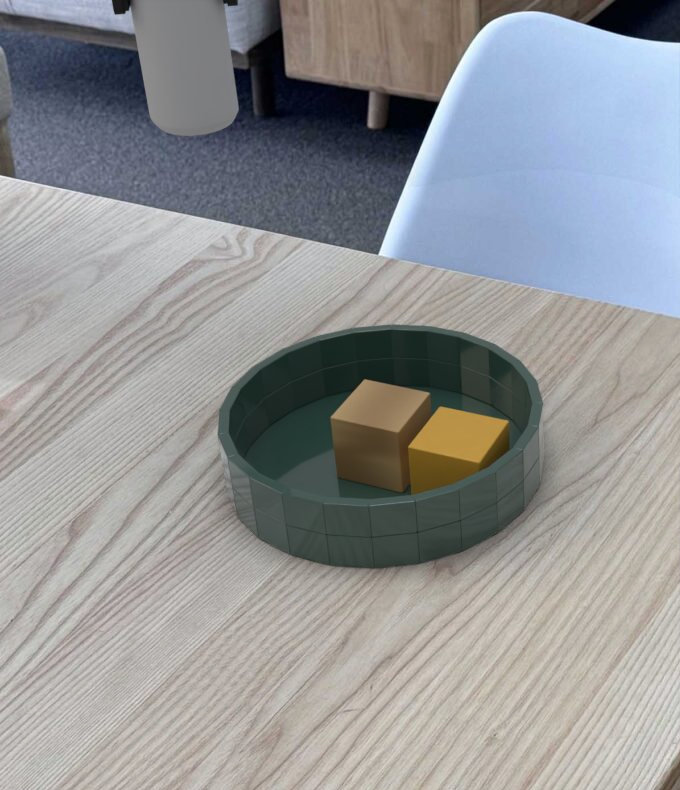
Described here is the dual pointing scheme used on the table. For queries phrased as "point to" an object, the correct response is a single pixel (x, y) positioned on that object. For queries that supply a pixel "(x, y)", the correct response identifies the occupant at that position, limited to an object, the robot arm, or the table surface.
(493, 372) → the bowl
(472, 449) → the mustard block
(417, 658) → the table surface
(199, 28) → the beverage can
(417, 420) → the maple block
